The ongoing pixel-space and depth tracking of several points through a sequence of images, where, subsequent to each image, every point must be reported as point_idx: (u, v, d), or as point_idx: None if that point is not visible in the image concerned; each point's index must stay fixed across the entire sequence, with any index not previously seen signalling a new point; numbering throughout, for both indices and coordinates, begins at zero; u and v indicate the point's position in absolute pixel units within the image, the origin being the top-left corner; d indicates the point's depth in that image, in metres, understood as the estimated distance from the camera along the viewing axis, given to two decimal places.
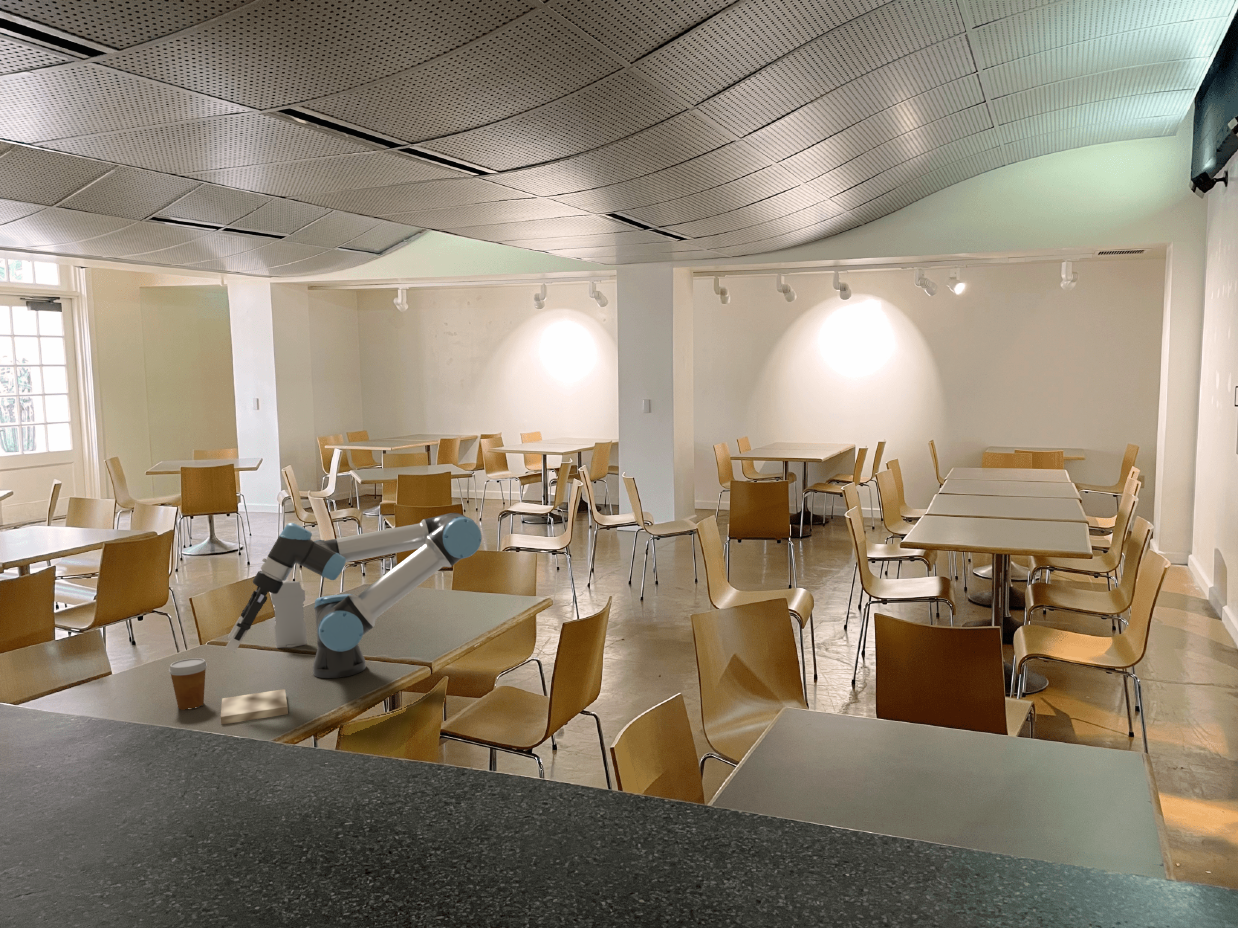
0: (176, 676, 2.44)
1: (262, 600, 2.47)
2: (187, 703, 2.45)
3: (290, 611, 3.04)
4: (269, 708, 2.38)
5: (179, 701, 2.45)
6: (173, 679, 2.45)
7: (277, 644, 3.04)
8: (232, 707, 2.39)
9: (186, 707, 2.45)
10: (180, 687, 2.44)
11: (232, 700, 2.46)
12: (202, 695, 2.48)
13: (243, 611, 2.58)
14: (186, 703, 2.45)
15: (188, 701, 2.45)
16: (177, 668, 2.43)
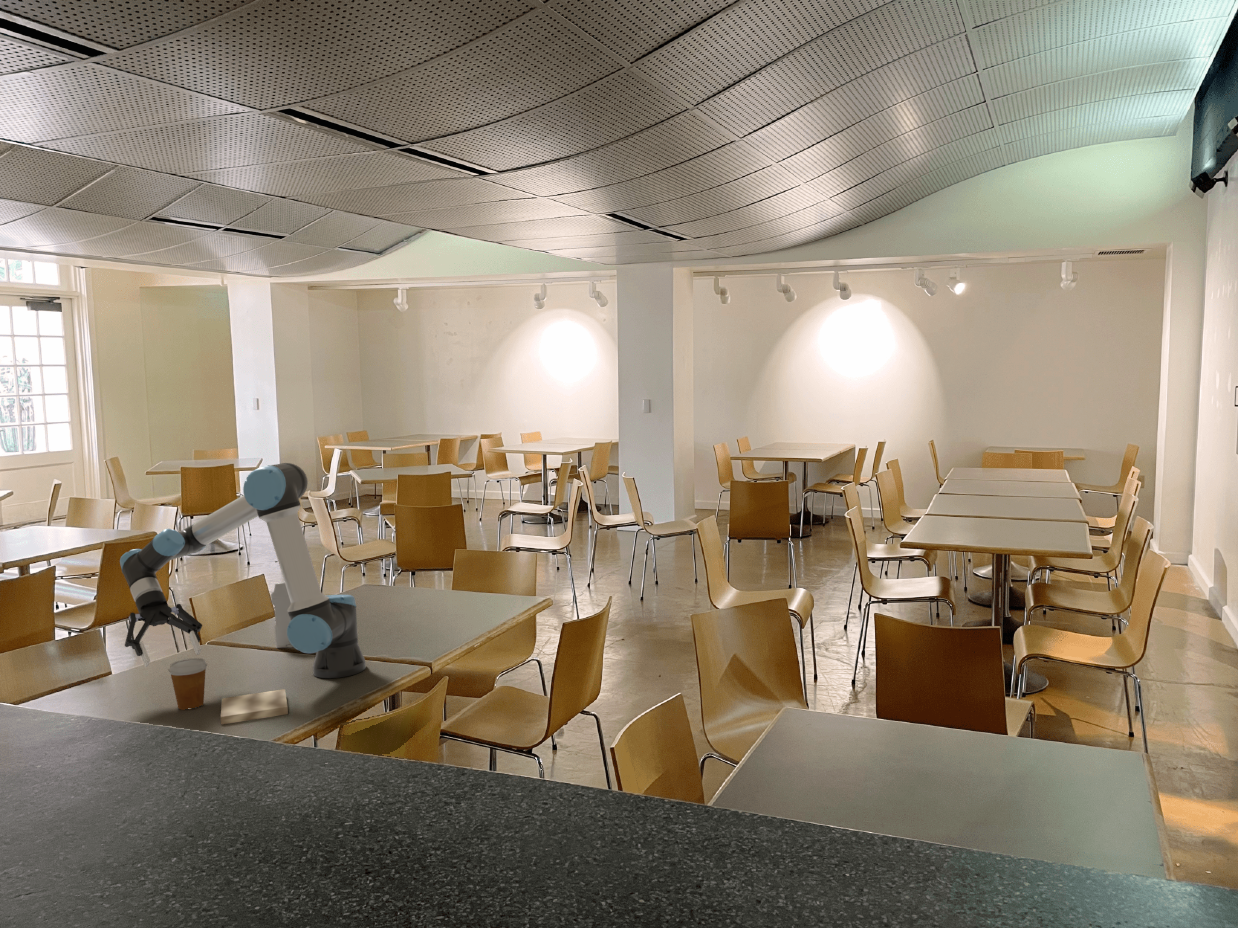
0: (175, 676, 2.44)
1: (130, 617, 2.54)
2: (187, 703, 2.45)
3: None
4: (269, 708, 2.38)
5: (179, 701, 2.45)
6: (173, 679, 2.45)
7: (277, 644, 3.04)
8: (232, 707, 2.39)
9: (186, 707, 2.45)
10: (180, 687, 2.44)
11: (232, 700, 2.46)
12: (202, 695, 2.48)
13: None
14: (186, 703, 2.45)
15: (188, 701, 2.45)
16: (177, 668, 2.43)
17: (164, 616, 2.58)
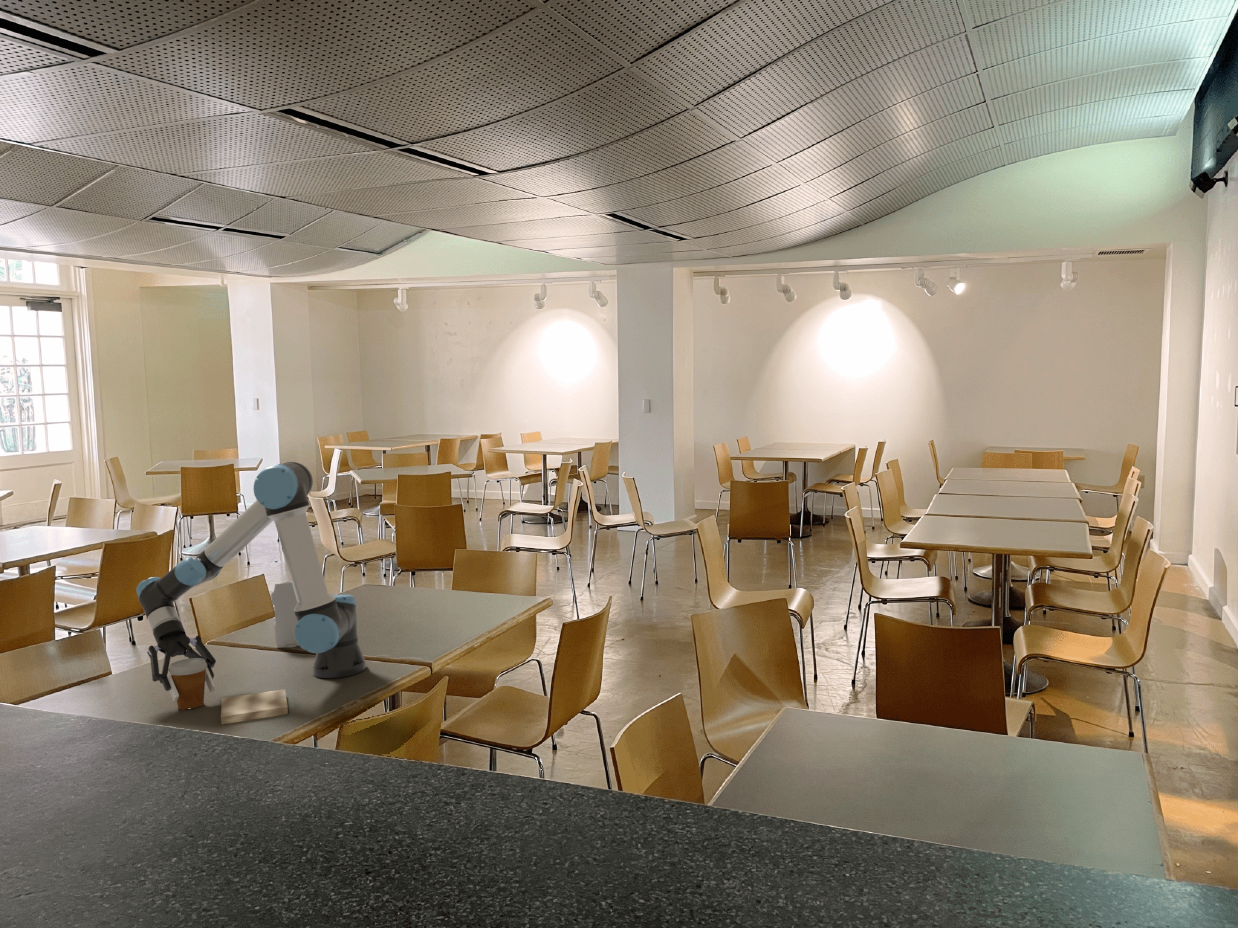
0: (176, 676, 2.44)
1: (150, 651, 2.47)
2: (187, 703, 2.45)
3: (290, 611, 3.04)
4: (269, 708, 2.38)
5: (179, 701, 2.45)
6: (173, 679, 2.45)
7: (277, 644, 3.04)
8: (232, 707, 2.39)
9: (186, 707, 2.45)
10: (180, 687, 2.44)
11: (232, 700, 2.46)
12: (202, 695, 2.48)
13: None
14: (186, 702, 2.45)
15: (188, 701, 2.45)
16: (177, 668, 2.43)
17: (182, 646, 2.53)
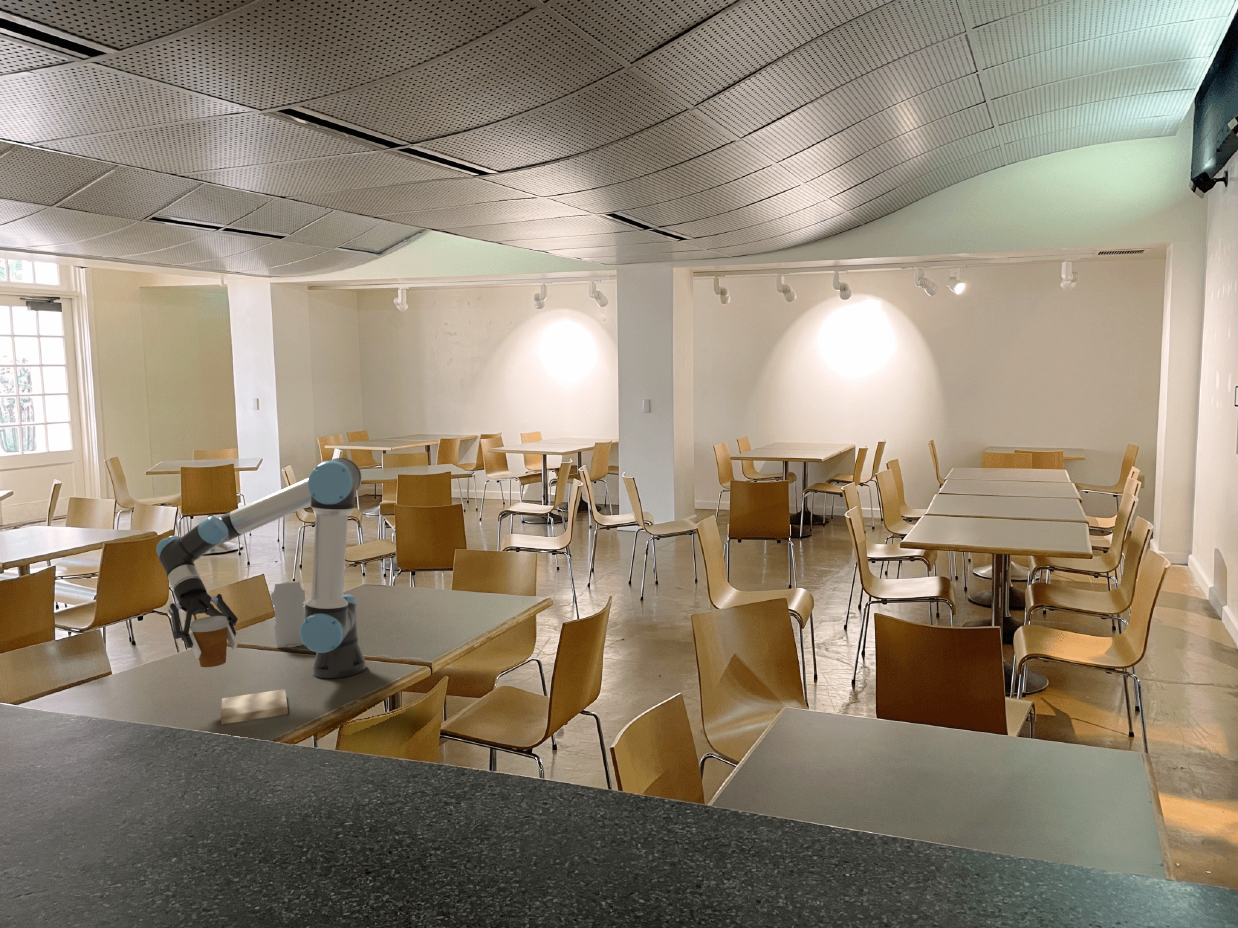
0: (197, 633, 2.40)
1: (171, 608, 2.44)
2: (209, 660, 2.41)
3: (290, 611, 3.04)
4: (269, 708, 2.38)
5: (201, 658, 2.41)
6: (195, 636, 2.41)
7: (277, 644, 3.04)
8: (232, 707, 2.39)
9: (208, 664, 2.41)
10: (202, 644, 2.40)
11: (232, 700, 2.46)
12: (224, 653, 2.44)
13: None
14: (209, 660, 2.41)
15: (210, 658, 2.41)
16: (199, 625, 2.39)
17: (204, 604, 2.49)
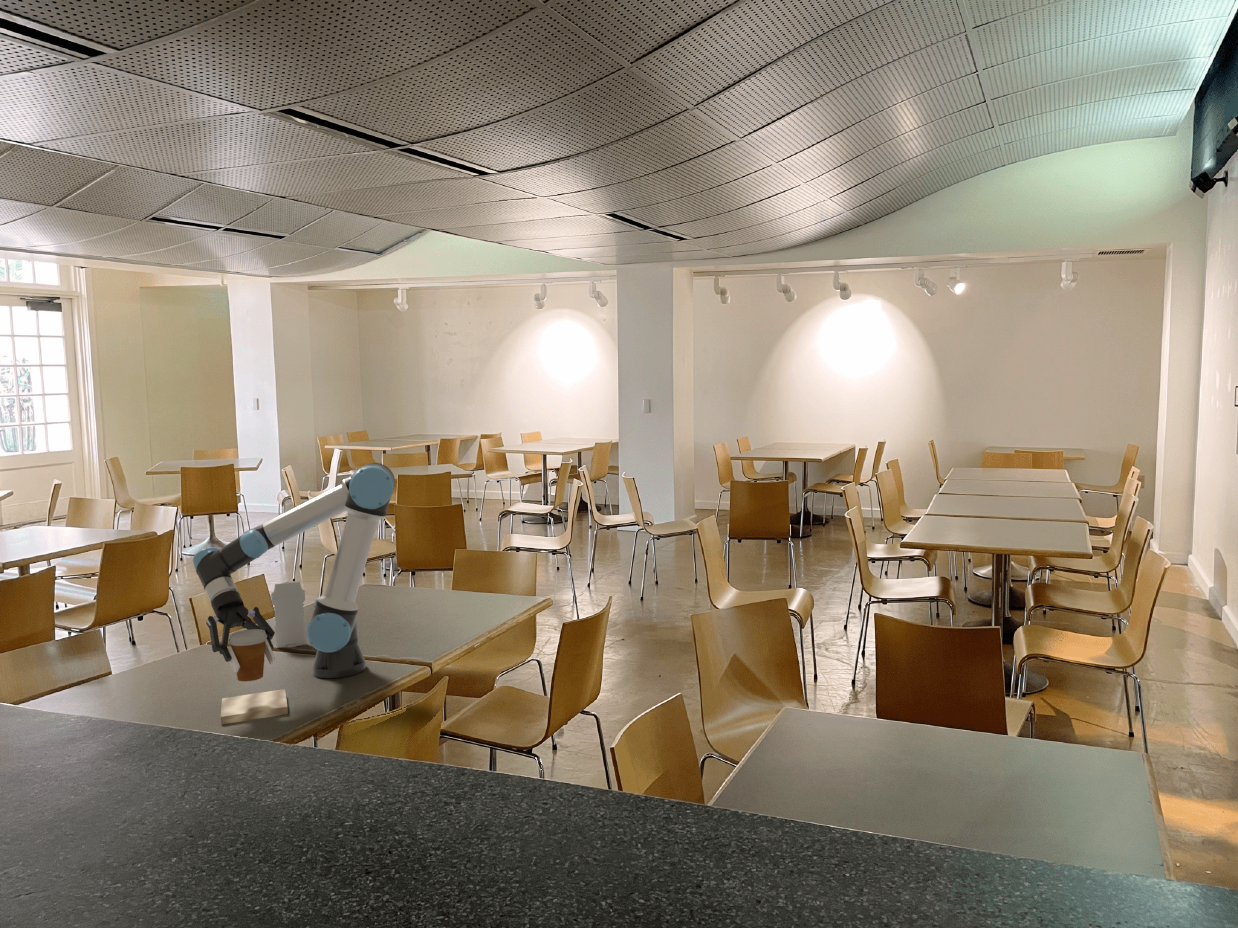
0: (236, 647, 2.38)
1: (209, 621, 2.41)
2: (247, 674, 2.39)
3: (290, 611, 3.04)
4: (269, 708, 2.38)
5: (239, 672, 2.39)
6: (233, 650, 2.39)
7: (277, 644, 3.04)
8: (232, 707, 2.39)
9: (246, 679, 2.39)
10: (240, 658, 2.38)
11: (232, 700, 2.46)
12: (262, 667, 2.42)
13: None
14: (247, 674, 2.39)
15: (248, 672, 2.39)
16: (238, 638, 2.37)
17: (241, 617, 2.47)
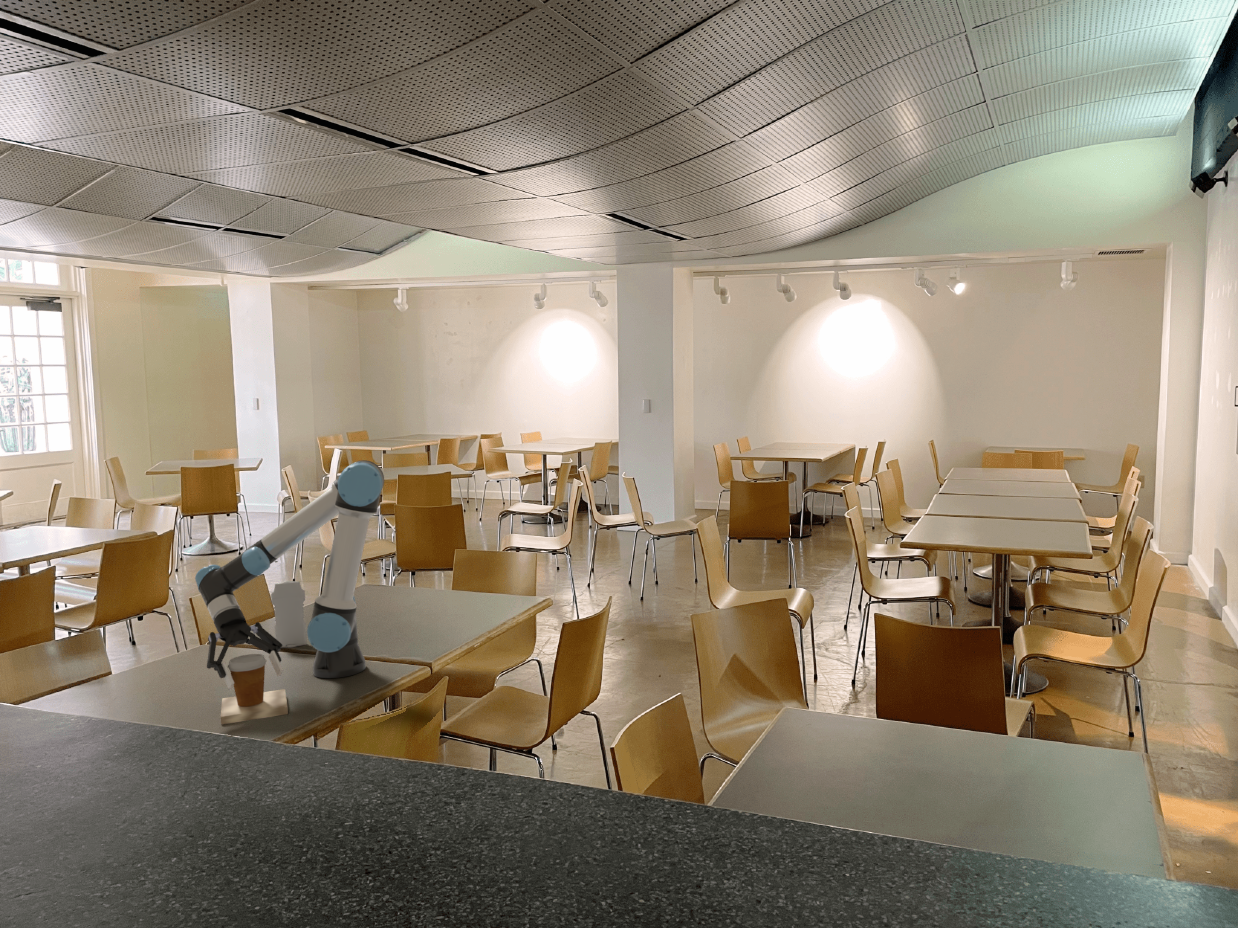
0: (235, 673, 2.38)
1: (210, 637, 2.42)
2: (247, 700, 2.39)
3: (290, 611, 3.04)
4: (269, 708, 2.38)
5: (239, 698, 2.39)
6: (233, 675, 2.39)
7: None
8: (232, 707, 2.39)
9: (246, 704, 2.39)
10: (240, 683, 2.38)
11: (232, 700, 2.46)
12: (262, 691, 2.42)
13: None
14: (247, 699, 2.39)
15: (248, 698, 2.39)
16: (237, 664, 2.37)
17: (244, 635, 2.47)
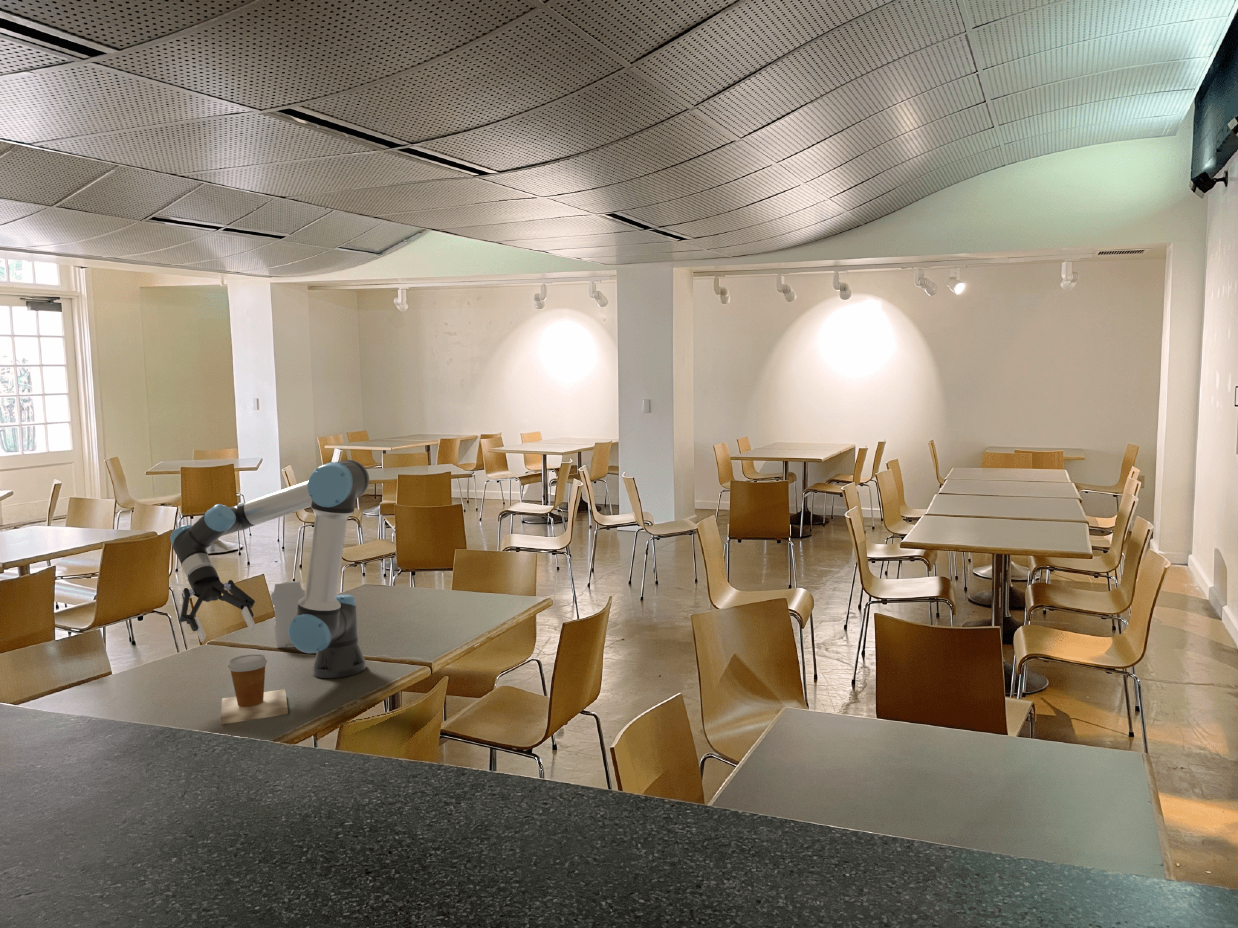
0: (236, 673, 2.38)
1: (184, 593, 2.51)
2: (247, 700, 2.39)
3: (290, 611, 3.04)
4: (269, 708, 2.38)
5: (239, 698, 2.39)
6: (233, 675, 2.39)
7: (277, 644, 3.04)
8: (232, 707, 2.39)
9: (246, 704, 2.39)
10: (240, 684, 2.38)
11: (232, 700, 2.46)
12: (262, 692, 2.42)
13: None
14: (247, 700, 2.39)
15: (248, 698, 2.39)
16: (237, 664, 2.37)
17: (217, 592, 2.56)
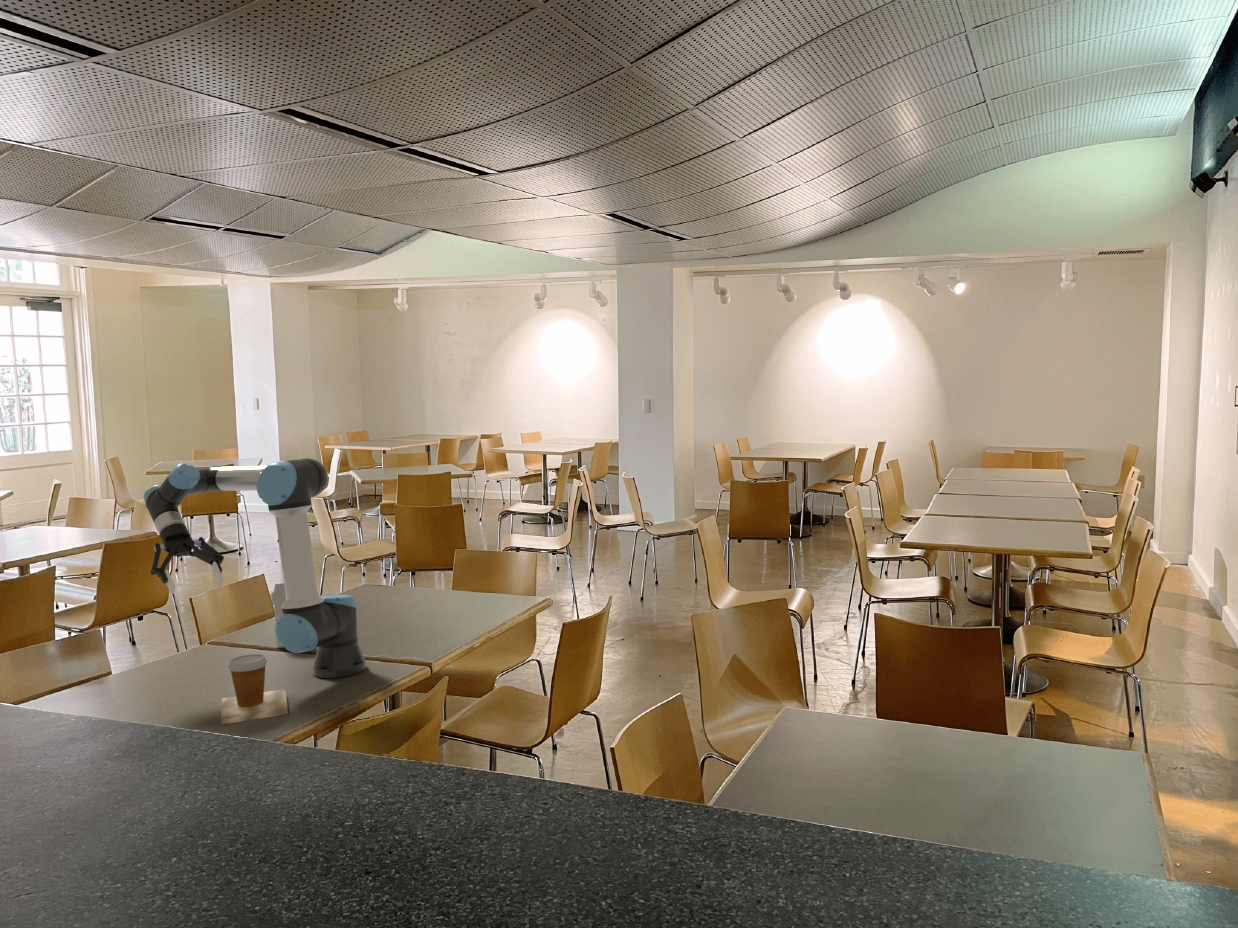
0: (236, 673, 2.38)
1: (155, 547, 2.63)
2: (247, 700, 2.39)
3: None
4: (269, 708, 2.38)
5: (239, 698, 2.39)
6: (233, 675, 2.39)
7: (277, 644, 3.04)
8: (232, 707, 2.39)
9: (246, 704, 2.39)
10: (240, 684, 2.38)
11: (232, 700, 2.46)
12: (262, 692, 2.42)
13: None
14: (247, 700, 2.39)
15: (248, 698, 2.39)
16: (238, 664, 2.37)
17: (187, 548, 2.68)
